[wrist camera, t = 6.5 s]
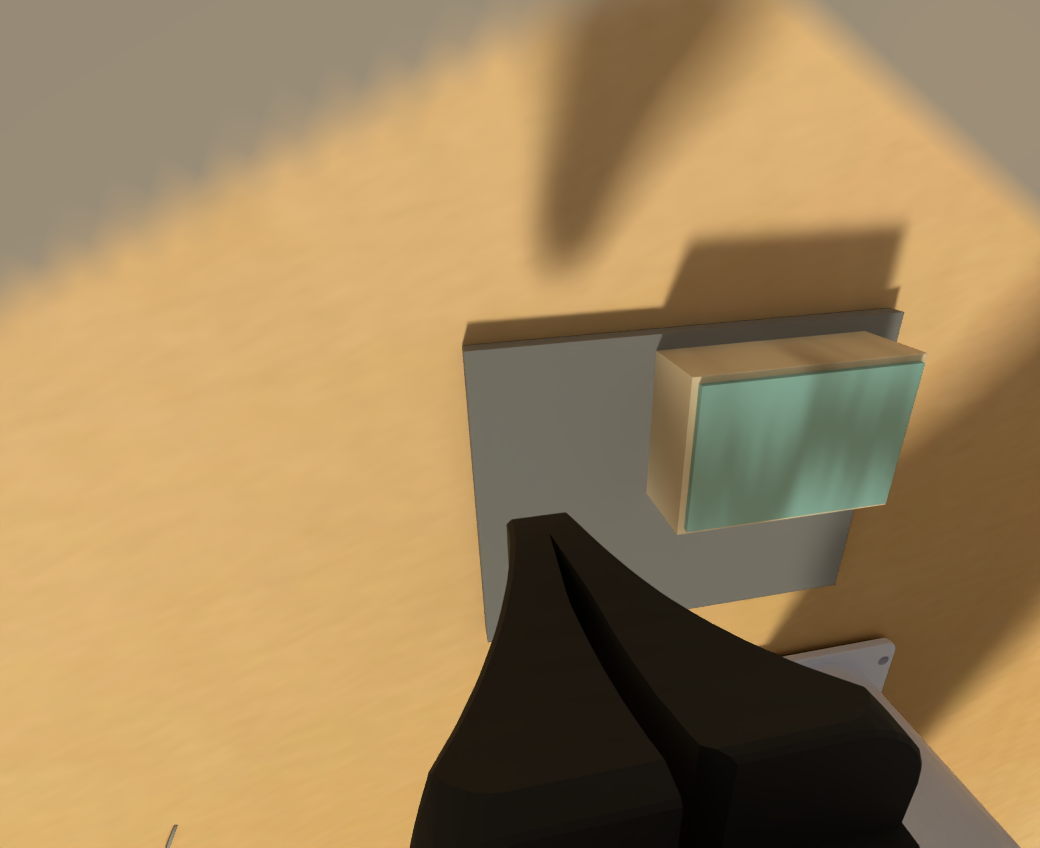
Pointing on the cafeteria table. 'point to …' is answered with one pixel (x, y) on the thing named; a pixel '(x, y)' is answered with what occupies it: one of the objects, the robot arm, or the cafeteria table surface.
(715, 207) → the cafeteria table surface
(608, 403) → the rubber mat
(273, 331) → the cafeteria table surface
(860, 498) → the green-faced wooden block
